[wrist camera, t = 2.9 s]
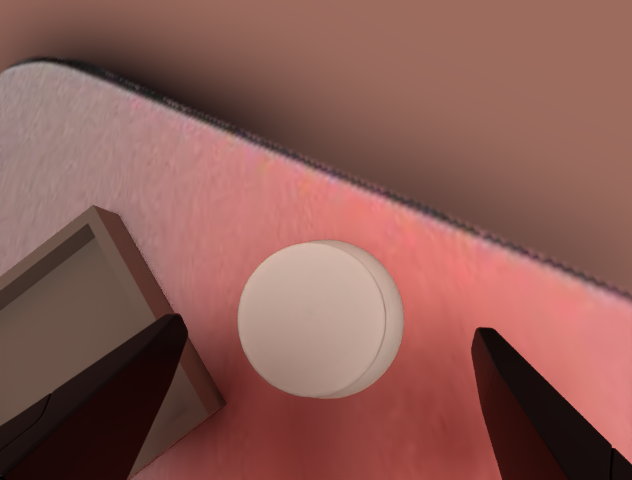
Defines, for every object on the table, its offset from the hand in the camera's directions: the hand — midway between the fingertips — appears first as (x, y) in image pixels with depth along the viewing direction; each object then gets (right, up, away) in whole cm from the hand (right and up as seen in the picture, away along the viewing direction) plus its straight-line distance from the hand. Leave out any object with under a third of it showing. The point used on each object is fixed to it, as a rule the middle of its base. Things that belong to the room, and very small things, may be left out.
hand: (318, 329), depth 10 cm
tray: (-15, -5, +10) cm, 18 cm away
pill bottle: (+1, -1, +8) cm, 8 cm away
